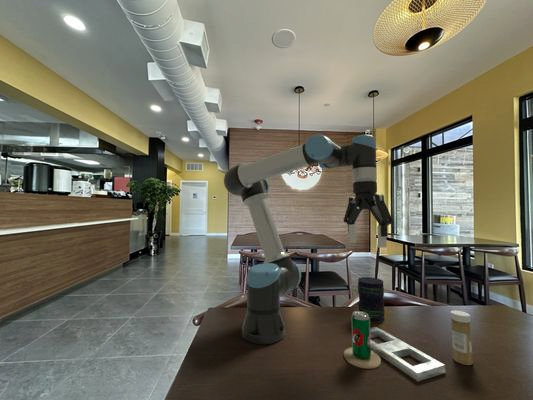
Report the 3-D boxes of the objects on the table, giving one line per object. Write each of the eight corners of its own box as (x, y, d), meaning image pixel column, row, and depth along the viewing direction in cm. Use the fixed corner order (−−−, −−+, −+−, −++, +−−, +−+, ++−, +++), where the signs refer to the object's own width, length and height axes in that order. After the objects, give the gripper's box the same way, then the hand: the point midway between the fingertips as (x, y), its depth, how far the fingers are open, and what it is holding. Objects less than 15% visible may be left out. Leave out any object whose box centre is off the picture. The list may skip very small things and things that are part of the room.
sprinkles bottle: (477, 364, 69) (474, 315, 70) (464, 366, 68) (461, 316, 69) (460, 355, 73) (458, 309, 74) (448, 357, 72) (446, 310, 73)
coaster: (337, 352, 75) (337, 350, 75) (363, 346, 78) (363, 344, 78) (359, 372, 66) (359, 369, 66) (388, 364, 69) (388, 362, 69)
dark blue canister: (389, 322, 96) (388, 283, 97) (364, 322, 96) (363, 283, 97) (378, 312, 106) (377, 277, 107) (355, 312, 106) (354, 277, 107)
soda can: (372, 361, 69) (371, 317, 70) (353, 359, 70) (352, 316, 71) (369, 352, 74) (367, 311, 75) (351, 350, 75) (350, 309, 76)
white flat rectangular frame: (353, 337, 84) (353, 331, 85) (376, 332, 88) (376, 326, 88) (417, 381, 62) (417, 373, 62) (445, 372, 65) (445, 364, 65)
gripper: (404, 176, 73) (407, 249, 72) (349, 186, 97) (350, 240, 95) (385, 175, 71) (387, 250, 69) (333, 185, 94) (334, 241, 93)
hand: (366, 245), depth 82 cm, fingers open, 13 cm apart
